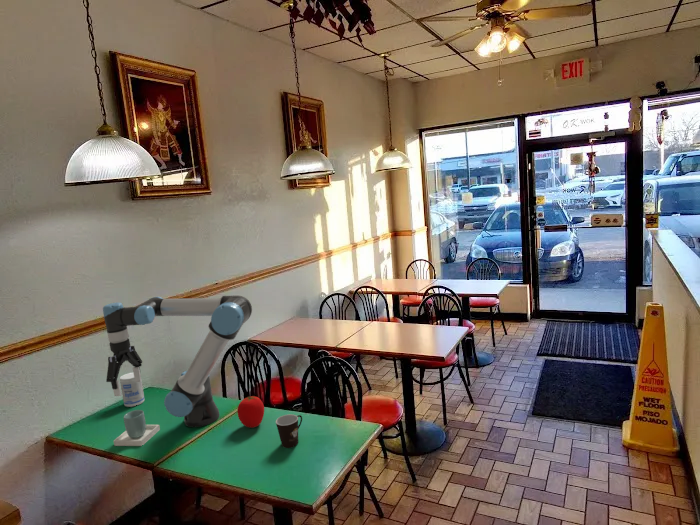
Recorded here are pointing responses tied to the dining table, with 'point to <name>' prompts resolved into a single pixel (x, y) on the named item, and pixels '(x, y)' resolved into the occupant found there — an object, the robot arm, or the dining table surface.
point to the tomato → (251, 411)
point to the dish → (127, 441)
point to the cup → (135, 423)
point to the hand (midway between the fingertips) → (128, 388)
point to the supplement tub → (131, 390)
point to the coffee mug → (288, 430)
